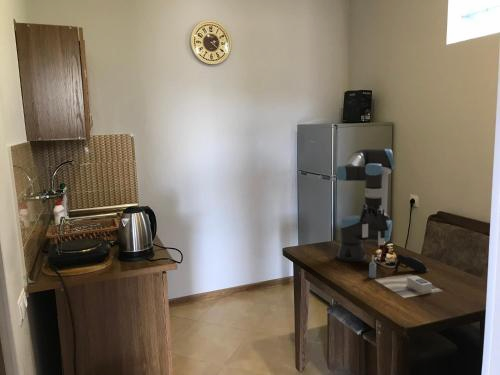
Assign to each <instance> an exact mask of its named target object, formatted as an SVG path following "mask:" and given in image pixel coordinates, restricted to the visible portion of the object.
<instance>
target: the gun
mask: <svg viewBox="0 0 500 375" xmlns="http://www.w3.org/2000/svg"><path fill="white" fill-rule="evenodd" d="M396 260H397V261H396V263H395V266H394V270H395V272H398V271H399V267H401V268H403V269H406V268H410V269H412V270H414V271H416V272H418V273H426V272H427V273H428V272H429V269H428V268H427V266H425V264H424V263H423V262H422V261H421V260H419V259H417V258H415V257H412V256H410V255H405V254H402V253H398V254H397V256H396Z"/></svg>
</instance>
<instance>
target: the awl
mask: <svg viewBox="0 0 500 375" xmlns="http://www.w3.org/2000/svg"><path fill="white" fill-rule="evenodd" d="M368 265H369V266H368V272H369V273H368V278H370V279H377V263H376V262H375V255H371V261H370V263H369V264H368Z"/></svg>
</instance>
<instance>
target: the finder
mask: <svg viewBox="0 0 500 375" xmlns="http://www.w3.org/2000/svg"><path fill="white" fill-rule="evenodd" d="M432 285H433V283H432V282H430V281H428V280H426V279H424V278H422V277H420V276H418V275H413V276H410V277H407V286H409V287H411V288H412V289H414V290H416V291H418V292H419V293H421V294H423V295H425V294H424V293H429V294H431V293H430V292H432Z"/></svg>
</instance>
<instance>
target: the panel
mask: <svg viewBox="0 0 500 375" xmlns="http://www.w3.org/2000/svg"><path fill="white" fill-rule="evenodd" d="M410 276H414V274H411V273H406V274H401V275H400V274H399V275H395V276H388V277H387V276H386V277H380V278H373V279H374V280H375V281H376V282H377V283H379V284H380V285H382V286H384V287H386V288H388V289H389V290H390V291H392V292H393V293H395V294H397V295H398V296H400V297H402V298H403V299H404V298H410V297H411V298H412V297H416V296H422V295H428V294H432V293H434V294H435V293H439V292H443V289H440V288H438V287H437V286H434V285H433V284H432V292H430V293H424V294H421V293H419V292H418V291H416V290H414V289H412V288H411V287H409V286H407V277H410Z"/></svg>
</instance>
